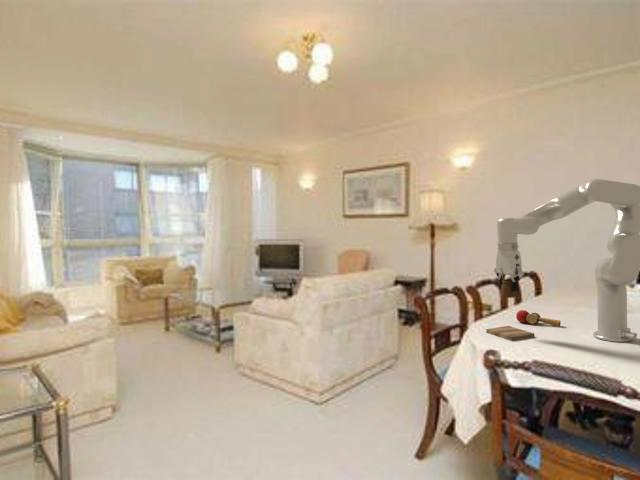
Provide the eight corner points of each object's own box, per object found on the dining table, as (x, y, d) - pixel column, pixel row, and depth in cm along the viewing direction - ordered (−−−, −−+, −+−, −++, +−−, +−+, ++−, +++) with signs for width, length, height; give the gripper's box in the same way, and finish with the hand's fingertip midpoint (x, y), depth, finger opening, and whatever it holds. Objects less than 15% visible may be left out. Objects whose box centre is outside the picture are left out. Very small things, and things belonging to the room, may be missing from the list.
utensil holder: (517, 298, 166) (517, 269, 165) (500, 297, 168) (500, 269, 167) (516, 295, 171) (515, 267, 171) (500, 295, 173) (499, 267, 173)
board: (534, 337, 165) (534, 333, 165) (511, 340, 161) (511, 337, 161) (508, 329, 179) (508, 325, 178) (486, 332, 175) (486, 329, 175)
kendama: (561, 327, 183) (518, 317, 194) (562, 314, 181) (519, 305, 193) (557, 334, 177) (513, 323, 189) (559, 321, 176) (514, 311, 187)
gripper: (531, 247, 162) (532, 292, 162) (499, 246, 178) (500, 286, 179) (516, 248, 159) (517, 294, 160) (485, 247, 176) (487, 288, 176)
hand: (508, 289), depth 169 cm, fingers closed on utensil holder, 5 cm apart
